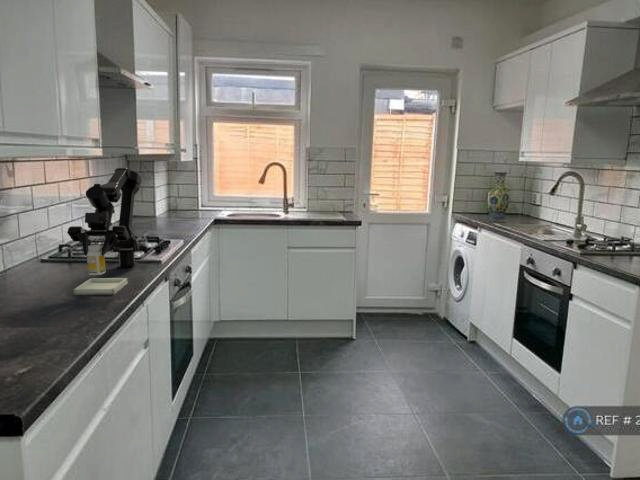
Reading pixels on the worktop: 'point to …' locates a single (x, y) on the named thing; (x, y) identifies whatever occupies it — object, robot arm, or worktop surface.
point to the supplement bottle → (95, 260)
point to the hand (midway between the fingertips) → (93, 254)
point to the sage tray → (101, 286)
